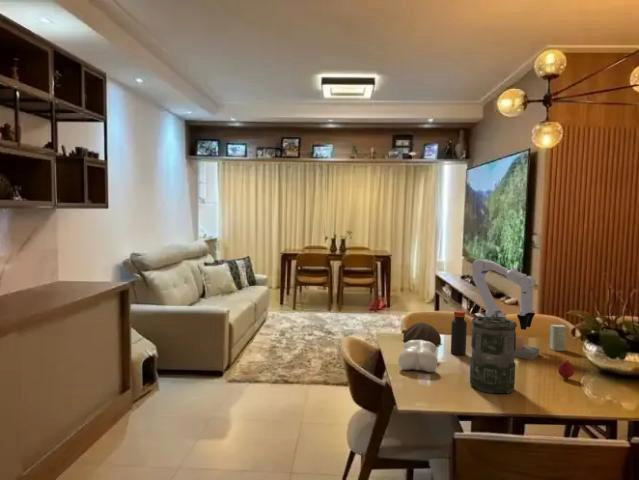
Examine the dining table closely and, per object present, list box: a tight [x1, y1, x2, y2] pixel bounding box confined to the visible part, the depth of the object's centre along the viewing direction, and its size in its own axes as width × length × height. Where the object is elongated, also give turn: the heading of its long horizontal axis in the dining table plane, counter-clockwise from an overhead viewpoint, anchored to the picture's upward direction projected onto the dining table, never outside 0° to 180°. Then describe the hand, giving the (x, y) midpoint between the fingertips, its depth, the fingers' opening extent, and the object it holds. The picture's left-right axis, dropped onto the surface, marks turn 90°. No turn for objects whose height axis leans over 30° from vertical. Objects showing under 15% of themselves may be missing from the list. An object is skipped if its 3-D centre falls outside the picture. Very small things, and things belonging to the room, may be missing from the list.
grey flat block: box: [514, 344, 540, 361], centre depth 229 cm, size 16×12×3 cm
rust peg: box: [516, 335, 525, 349], centre depth 229 cm, size 3×3×8 cm
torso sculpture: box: [397, 340, 438, 373], centre depth 209 cm, size 16×11×30 cm
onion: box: [557, 359, 575, 380], centre depth 193 cm, size 6×6×8 cm
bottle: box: [450, 310, 468, 357], centre depth 227 cm, size 7×7×20 cm
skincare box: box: [549, 324, 567, 352], centre depth 239 cm, size 6×4×12 cm
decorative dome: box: [402, 322, 442, 346], centre depth 249 cm, size 19×20×10 cm
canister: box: [469, 312, 518, 394], centre depth 181 cm, size 16×16×28 cm
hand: (525, 328), depth 238 cm, fingers open, 7 cm apart
